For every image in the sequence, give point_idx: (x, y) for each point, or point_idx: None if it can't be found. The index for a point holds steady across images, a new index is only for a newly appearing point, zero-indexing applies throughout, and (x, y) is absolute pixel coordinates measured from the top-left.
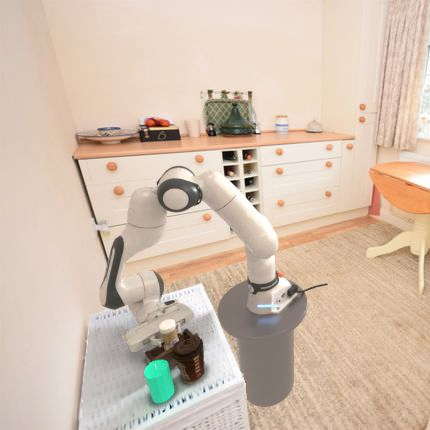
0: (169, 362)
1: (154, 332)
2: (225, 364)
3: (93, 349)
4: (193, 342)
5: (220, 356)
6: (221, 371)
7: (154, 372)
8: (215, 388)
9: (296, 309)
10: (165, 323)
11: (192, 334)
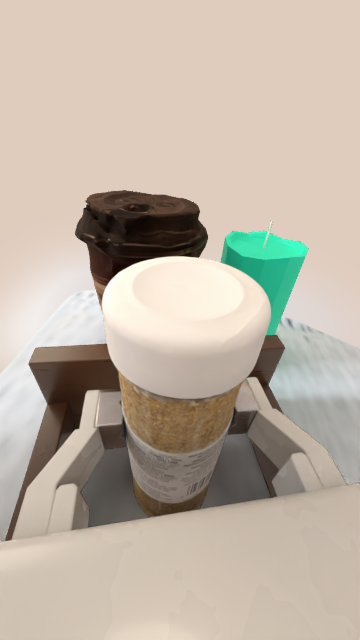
0: None
1: (308, 499)
2: (63, 323)
3: None
4: (119, 200)
5: None
6: (87, 315)
7: (270, 245)
8: None
9: None
10: (199, 296)
11: (26, 474)
